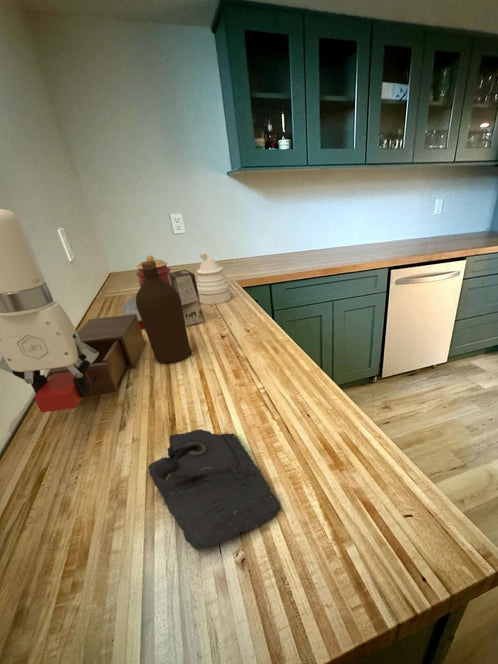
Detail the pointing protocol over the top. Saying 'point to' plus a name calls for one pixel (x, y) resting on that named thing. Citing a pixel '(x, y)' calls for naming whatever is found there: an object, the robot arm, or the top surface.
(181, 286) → the coffee box
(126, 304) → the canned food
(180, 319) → the olive oil
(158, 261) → the kitchen canister
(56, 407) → the red block
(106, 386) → the drawer
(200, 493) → the folded black cloth
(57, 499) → the top surface
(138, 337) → the cabinet
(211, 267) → the honey pot
